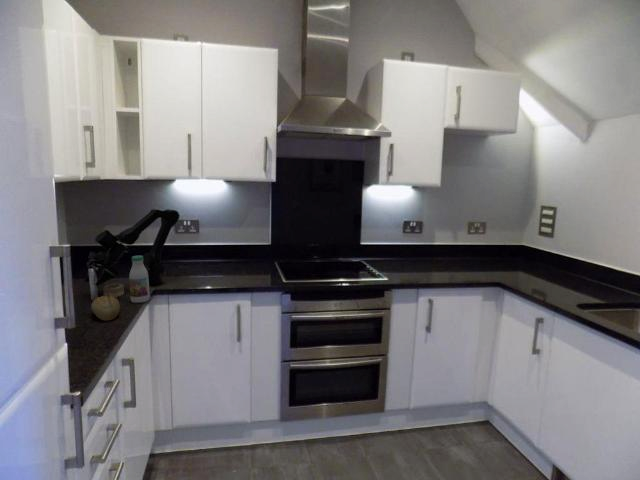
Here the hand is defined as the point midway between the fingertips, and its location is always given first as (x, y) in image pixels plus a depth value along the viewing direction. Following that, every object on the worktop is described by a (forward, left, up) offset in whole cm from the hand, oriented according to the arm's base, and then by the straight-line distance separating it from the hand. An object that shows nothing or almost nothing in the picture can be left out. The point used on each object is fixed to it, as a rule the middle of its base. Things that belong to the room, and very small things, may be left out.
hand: (90, 283), depth 177 cm
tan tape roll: (-9, +3, -7) cm, 12 cm away
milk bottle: (-8, +20, -8) cm, 23 cm away
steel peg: (-1, 0, -7) cm, 8 cm away
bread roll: (+11, +22, -8) cm, 25 cm away
